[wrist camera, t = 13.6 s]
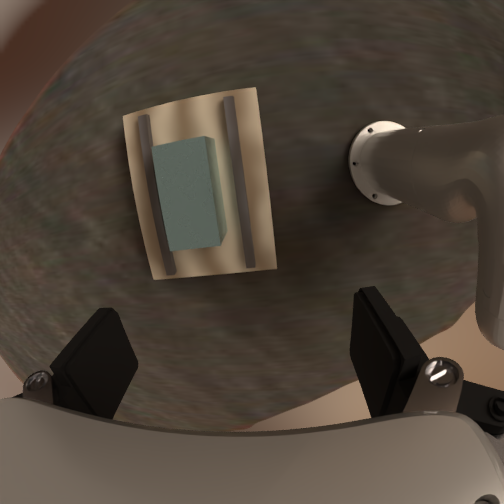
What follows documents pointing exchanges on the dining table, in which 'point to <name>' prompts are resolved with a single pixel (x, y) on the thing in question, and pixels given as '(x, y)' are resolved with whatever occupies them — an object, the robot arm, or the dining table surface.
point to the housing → (190, 193)
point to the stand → (231, 178)
